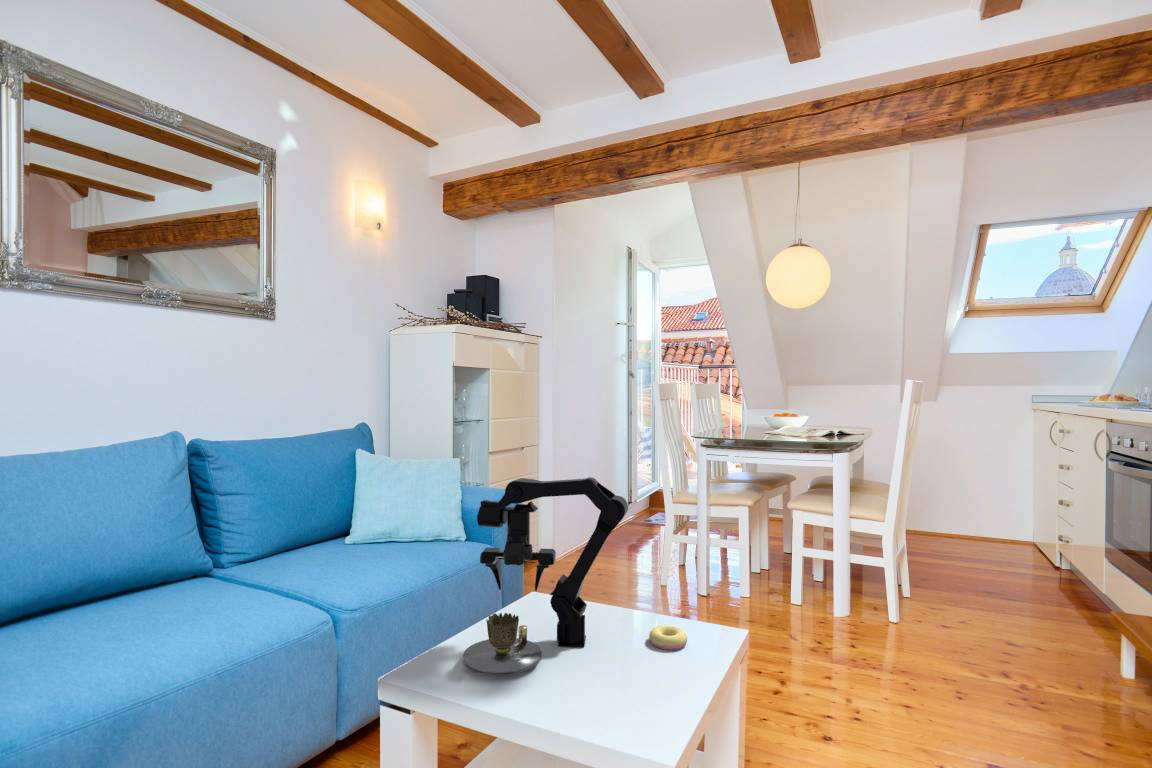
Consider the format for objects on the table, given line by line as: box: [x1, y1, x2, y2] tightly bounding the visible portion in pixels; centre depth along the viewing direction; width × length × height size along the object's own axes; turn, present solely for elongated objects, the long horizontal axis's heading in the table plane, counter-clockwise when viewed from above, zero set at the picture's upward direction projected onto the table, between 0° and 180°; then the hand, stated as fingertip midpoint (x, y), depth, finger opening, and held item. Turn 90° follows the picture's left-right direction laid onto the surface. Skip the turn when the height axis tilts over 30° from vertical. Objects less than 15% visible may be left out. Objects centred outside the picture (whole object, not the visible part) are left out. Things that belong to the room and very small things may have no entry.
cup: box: [485, 612, 520, 655], centre depth 138 cm, size 8×7×8 cm
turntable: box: [462, 624, 543, 676], centre depth 138 cm, size 18×18×4 cm
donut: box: [648, 624, 688, 651], centre depth 150 cm, size 10×5×9 cm
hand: (518, 589), depth 153 cm, fingers open, 9 cm apart
